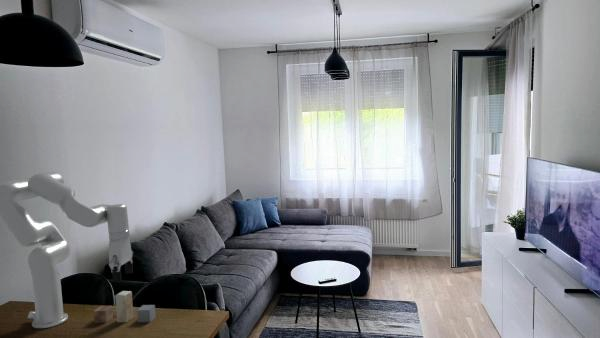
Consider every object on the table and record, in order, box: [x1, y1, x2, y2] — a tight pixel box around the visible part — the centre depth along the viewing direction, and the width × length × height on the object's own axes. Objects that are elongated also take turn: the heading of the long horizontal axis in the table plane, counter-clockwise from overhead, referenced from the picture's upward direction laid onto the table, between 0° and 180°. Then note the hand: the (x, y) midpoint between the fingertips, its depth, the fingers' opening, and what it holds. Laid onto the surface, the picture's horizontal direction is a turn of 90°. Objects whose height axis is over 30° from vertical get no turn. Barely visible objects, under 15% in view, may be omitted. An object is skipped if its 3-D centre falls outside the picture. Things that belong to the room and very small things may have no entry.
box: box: [114, 290, 134, 323], centre depth 167 cm, size 5×4×11 cm
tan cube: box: [93, 305, 114, 324], centre depth 168 cm, size 5×5×5 cm
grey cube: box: [137, 304, 157, 323], centre depth 167 cm, size 5×5×5 cm
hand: (123, 277), depth 166 cm, fingers open, 9 cm apart
